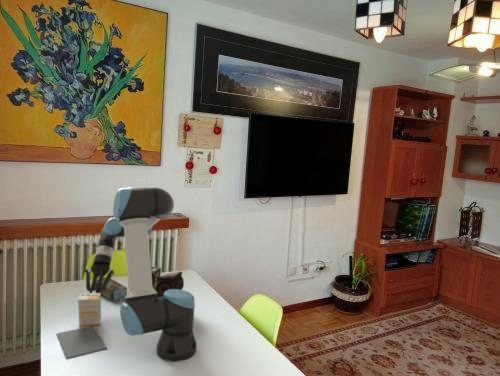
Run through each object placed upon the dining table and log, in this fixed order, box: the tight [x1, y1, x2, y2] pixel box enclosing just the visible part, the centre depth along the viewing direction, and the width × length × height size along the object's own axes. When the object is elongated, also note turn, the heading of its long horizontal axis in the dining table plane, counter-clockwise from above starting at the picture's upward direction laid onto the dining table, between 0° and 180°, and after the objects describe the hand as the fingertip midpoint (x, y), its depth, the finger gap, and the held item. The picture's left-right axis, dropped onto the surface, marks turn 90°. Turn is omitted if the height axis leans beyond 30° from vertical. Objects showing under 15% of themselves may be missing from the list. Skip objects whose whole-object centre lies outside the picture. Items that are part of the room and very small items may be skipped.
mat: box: [56, 325, 108, 360], centre depth 147 cm, size 20×14×1 cm
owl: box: [156, 270, 185, 297], centre depth 174 cm, size 13×13×20 cm
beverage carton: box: [94, 276, 128, 303], centre depth 192 cm, size 8×19×7 cm, turn 50°
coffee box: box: [151, 266, 162, 291], centre depth 188 cm, size 9×6×16 cm
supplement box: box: [77, 292, 102, 327], centre depth 159 cm, size 8×5×13 cm, turn 102°
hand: (91, 306), depth 163 cm, fingers closed
